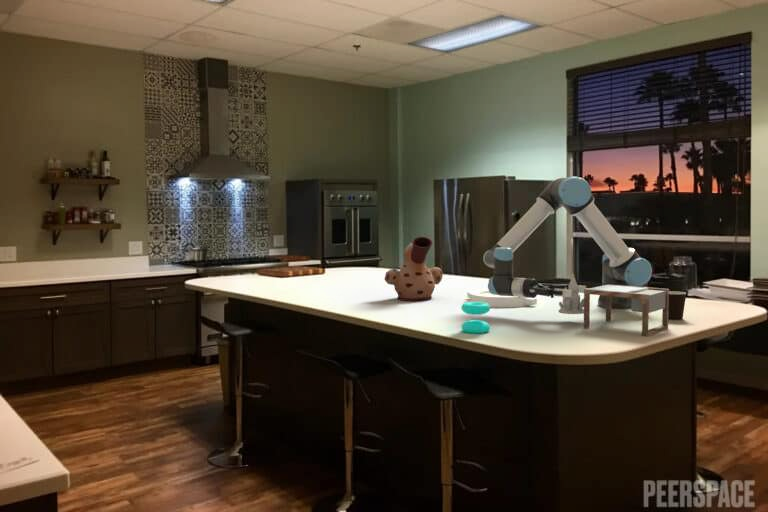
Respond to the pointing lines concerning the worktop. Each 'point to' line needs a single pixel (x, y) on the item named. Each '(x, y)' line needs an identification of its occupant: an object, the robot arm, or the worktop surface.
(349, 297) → the worktop surface
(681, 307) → the coffee mug
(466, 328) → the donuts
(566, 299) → the crystal
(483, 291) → the white ring
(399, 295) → the vessel
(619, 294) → the stand
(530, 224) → the robot arm
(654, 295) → the trapdoor
